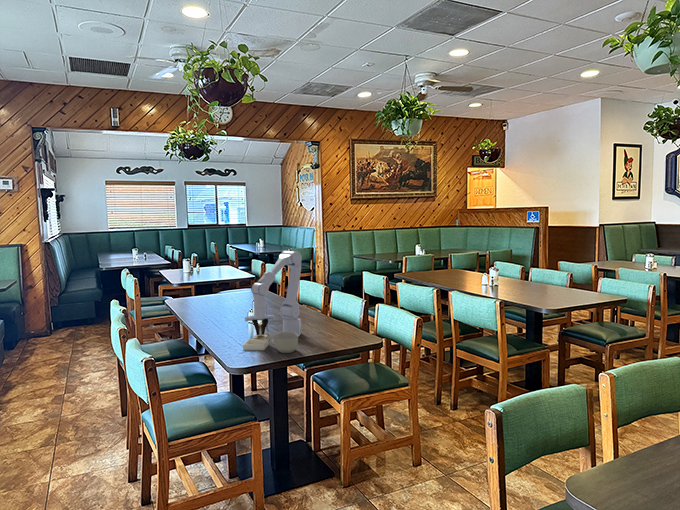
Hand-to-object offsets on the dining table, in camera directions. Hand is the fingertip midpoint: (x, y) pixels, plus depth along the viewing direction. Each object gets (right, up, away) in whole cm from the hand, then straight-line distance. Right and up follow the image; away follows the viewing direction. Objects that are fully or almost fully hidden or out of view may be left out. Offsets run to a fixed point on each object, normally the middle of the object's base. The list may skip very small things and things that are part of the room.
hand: (260, 334), depth 229 cm
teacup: (+13, -5, -15) cm, 21 cm away
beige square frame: (0, -4, 0) cm, 4 cm away
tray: (-1, -5, -8) cm, 9 cm away
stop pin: (0, -4, 0) cm, 4 cm away
